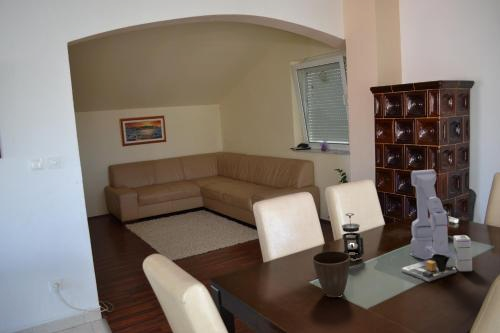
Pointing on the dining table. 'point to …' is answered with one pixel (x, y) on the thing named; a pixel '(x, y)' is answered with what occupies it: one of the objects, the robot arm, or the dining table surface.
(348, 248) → the french press
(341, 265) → the plant pot
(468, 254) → the white segmented block tower
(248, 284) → the dining table surface
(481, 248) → the dining table surface
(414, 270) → the breaker panel
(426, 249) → the robot arm
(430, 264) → the yellow rounded piece
